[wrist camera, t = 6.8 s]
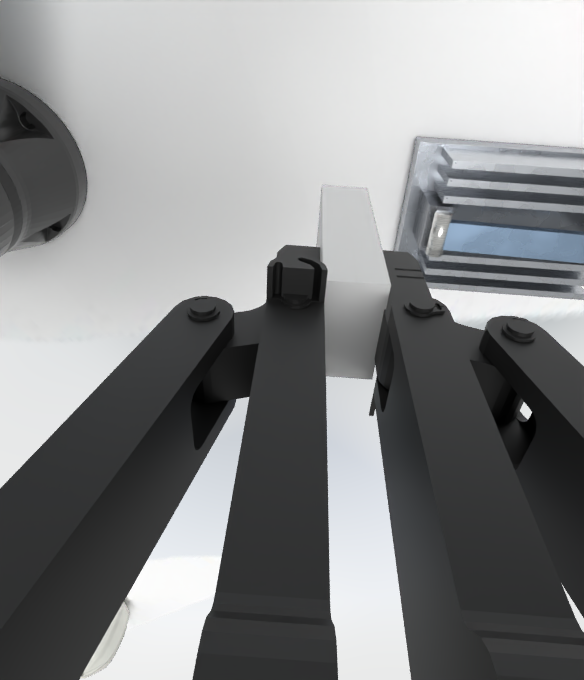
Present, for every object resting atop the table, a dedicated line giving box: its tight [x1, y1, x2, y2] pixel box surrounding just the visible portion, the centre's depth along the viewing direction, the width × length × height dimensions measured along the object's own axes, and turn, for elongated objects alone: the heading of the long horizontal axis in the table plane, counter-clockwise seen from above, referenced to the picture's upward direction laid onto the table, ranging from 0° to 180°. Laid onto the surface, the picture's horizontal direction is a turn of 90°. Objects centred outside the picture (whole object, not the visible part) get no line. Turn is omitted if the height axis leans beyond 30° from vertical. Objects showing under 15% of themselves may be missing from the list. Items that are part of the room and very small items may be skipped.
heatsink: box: [394, 137, 584, 300], centre depth 41 cm, size 19×12×9 cm, turn 87°
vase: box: [80, 602, 129, 678], centre depth 90 cm, size 14×14×13 cm
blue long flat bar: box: [425, 210, 584, 263], centre depth 39 cm, size 15×4×1 cm, turn 87°
